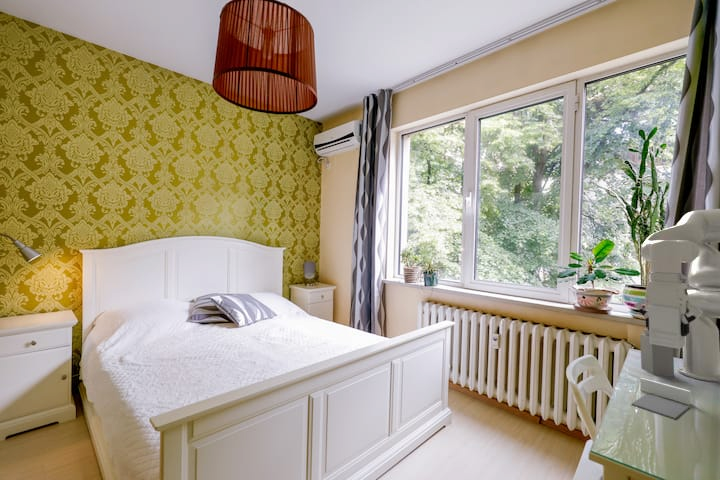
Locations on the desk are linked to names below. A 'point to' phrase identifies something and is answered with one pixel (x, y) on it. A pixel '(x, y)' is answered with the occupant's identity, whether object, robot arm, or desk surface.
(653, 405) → the charcoal mat
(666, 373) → the perfume bottle
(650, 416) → the desk surface
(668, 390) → the frosted wall
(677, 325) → the supplement box
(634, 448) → the desk surface
